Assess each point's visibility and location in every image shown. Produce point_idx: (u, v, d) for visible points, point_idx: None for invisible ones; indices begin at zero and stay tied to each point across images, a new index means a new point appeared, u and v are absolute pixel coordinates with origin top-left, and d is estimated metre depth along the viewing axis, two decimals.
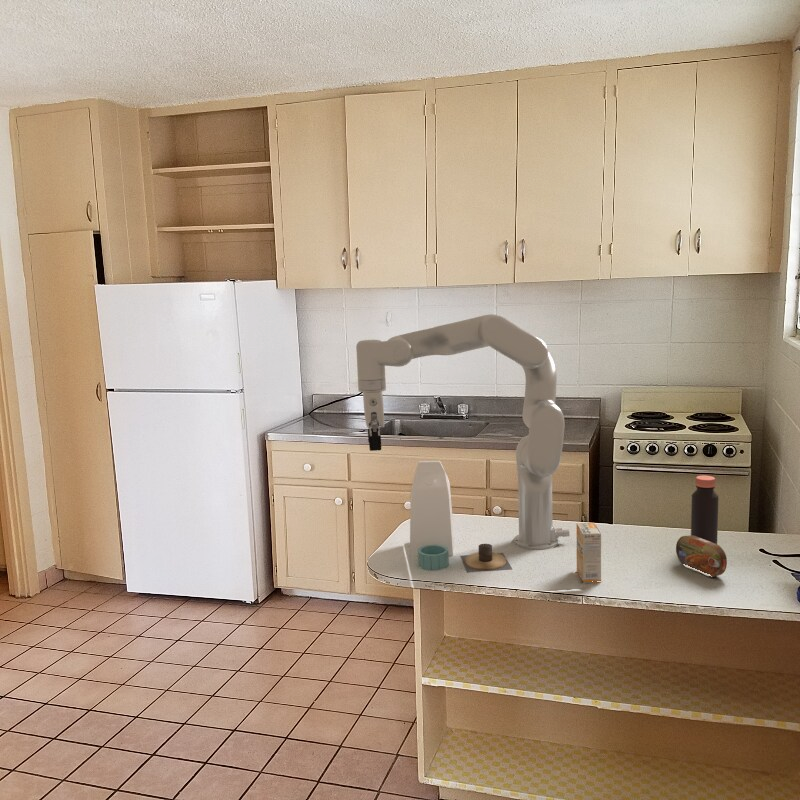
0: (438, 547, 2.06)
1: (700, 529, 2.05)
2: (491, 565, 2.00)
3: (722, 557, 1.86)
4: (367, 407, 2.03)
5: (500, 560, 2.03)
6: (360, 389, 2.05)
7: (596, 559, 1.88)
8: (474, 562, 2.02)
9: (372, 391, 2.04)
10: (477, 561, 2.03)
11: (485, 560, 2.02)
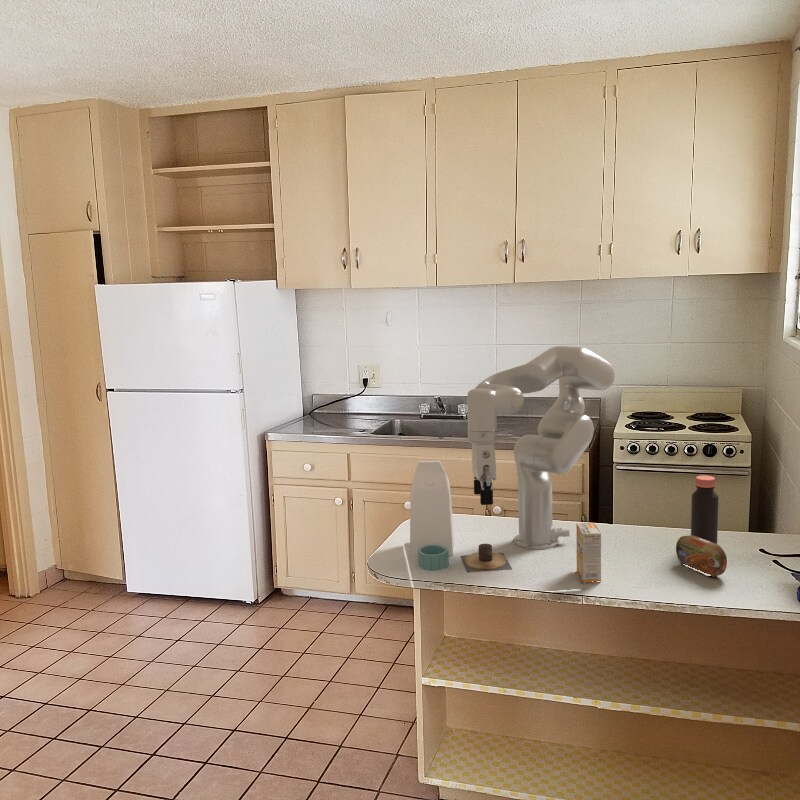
0: (438, 547, 2.06)
1: (700, 529, 2.05)
2: (491, 565, 2.00)
3: (722, 557, 1.86)
4: (479, 460, 1.94)
5: (500, 560, 2.02)
6: (471, 440, 1.96)
7: (596, 559, 1.88)
8: (474, 562, 2.02)
9: (484, 443, 1.95)
10: (477, 561, 2.03)
11: (485, 560, 2.02)
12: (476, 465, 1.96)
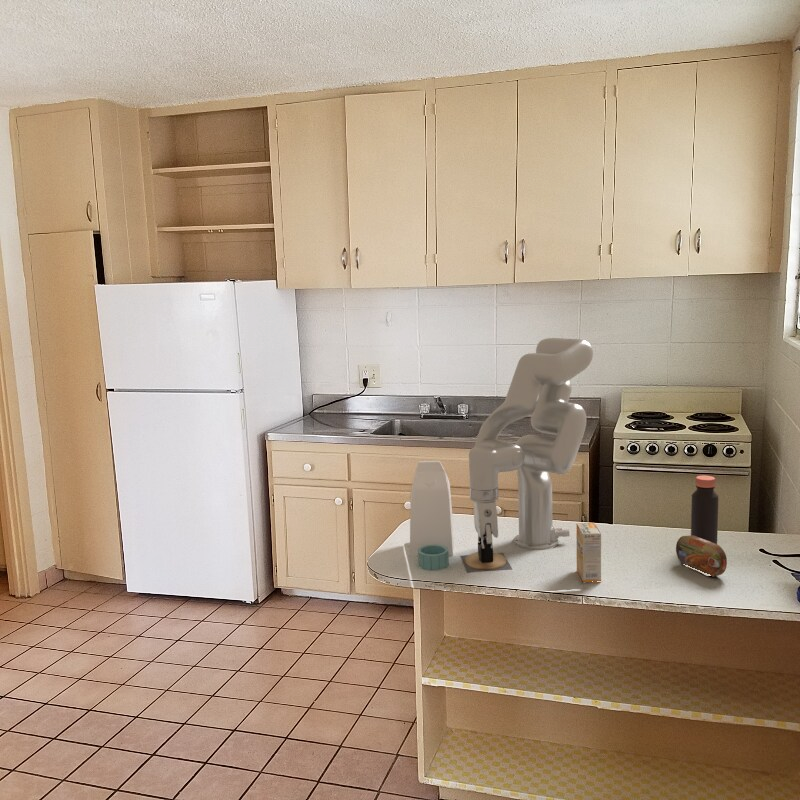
0: (438, 547, 2.06)
1: (700, 529, 2.05)
2: (491, 565, 2.00)
3: (722, 557, 1.86)
4: (481, 518, 1.97)
5: (500, 560, 2.03)
6: (473, 498, 1.99)
7: (596, 559, 1.88)
8: (474, 562, 2.02)
9: (486, 501, 1.97)
10: (477, 561, 2.03)
11: None
12: (478, 523, 1.99)
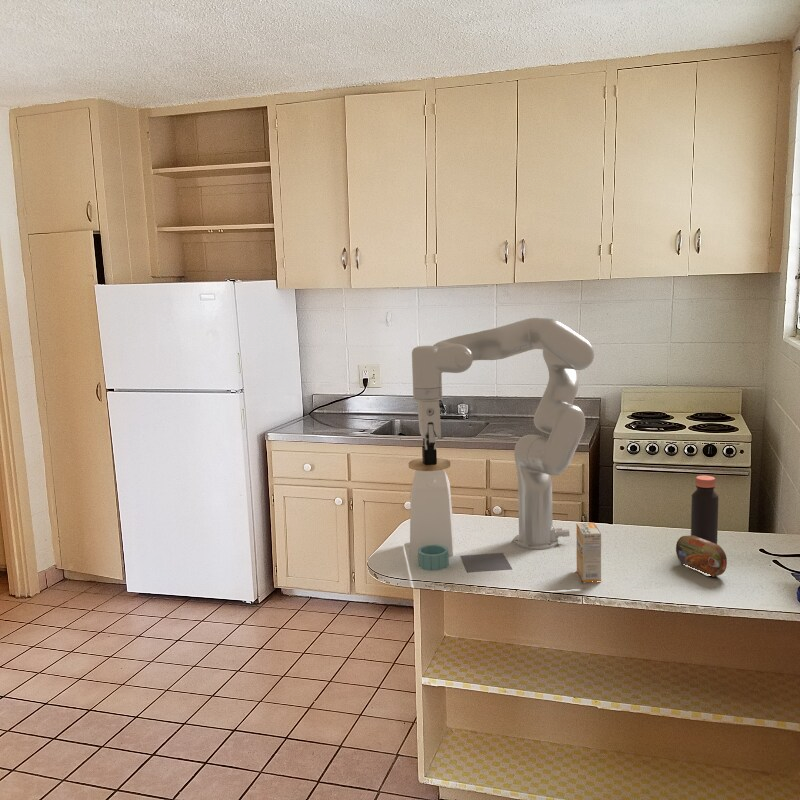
0: (438, 547, 2.06)
1: (700, 529, 2.05)
2: (434, 466, 1.95)
3: (722, 557, 1.86)
4: (423, 417, 1.93)
5: (444, 463, 1.98)
6: (416, 398, 1.95)
7: (596, 559, 1.88)
8: (417, 465, 1.97)
9: (429, 400, 1.93)
10: (420, 464, 1.98)
11: None
12: (421, 423, 1.94)
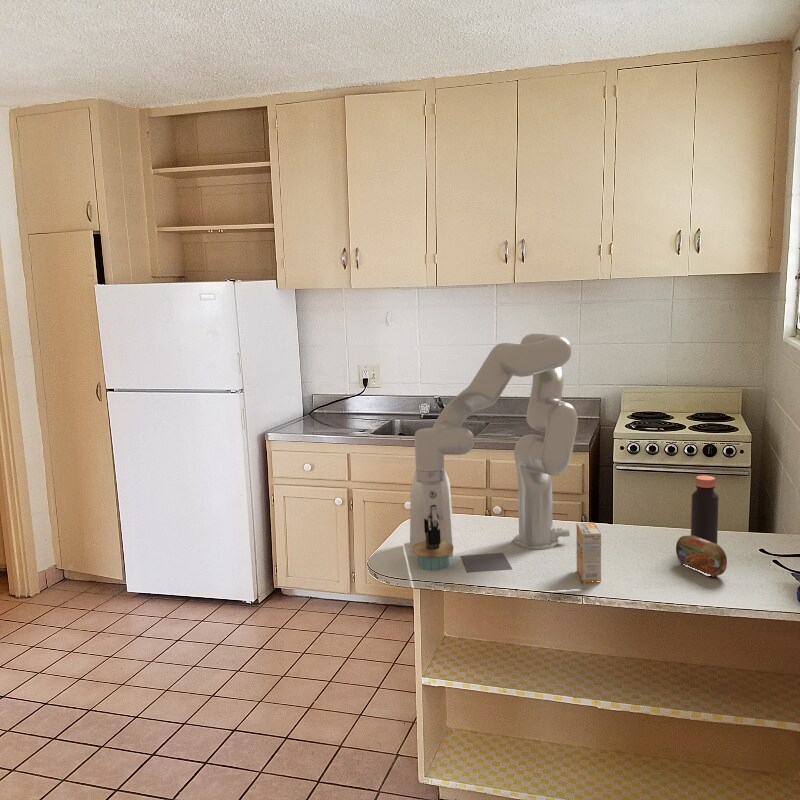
0: None
1: (700, 529, 2.05)
2: (437, 553, 1.99)
3: (722, 557, 1.86)
4: (426, 499, 1.96)
5: (447, 548, 2.02)
6: (419, 480, 1.98)
7: (596, 559, 1.88)
8: (421, 550, 2.01)
9: (431, 483, 1.96)
10: (424, 549, 2.02)
11: (432, 548, 2.01)
12: (424, 505, 1.98)
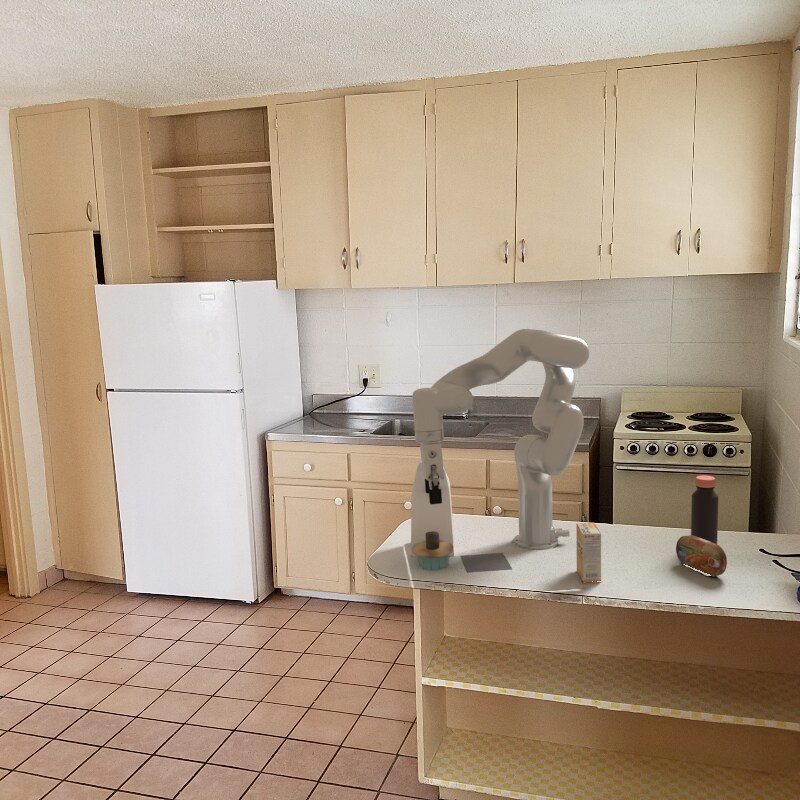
0: None
1: (700, 529, 2.05)
2: (437, 553, 1.99)
3: (722, 557, 1.86)
4: (426, 459, 1.95)
5: (447, 548, 2.02)
6: (418, 440, 1.96)
7: (596, 559, 1.88)
8: (421, 550, 2.01)
9: (431, 442, 1.95)
10: (424, 549, 2.02)
11: (432, 548, 2.01)
12: (424, 465, 1.96)
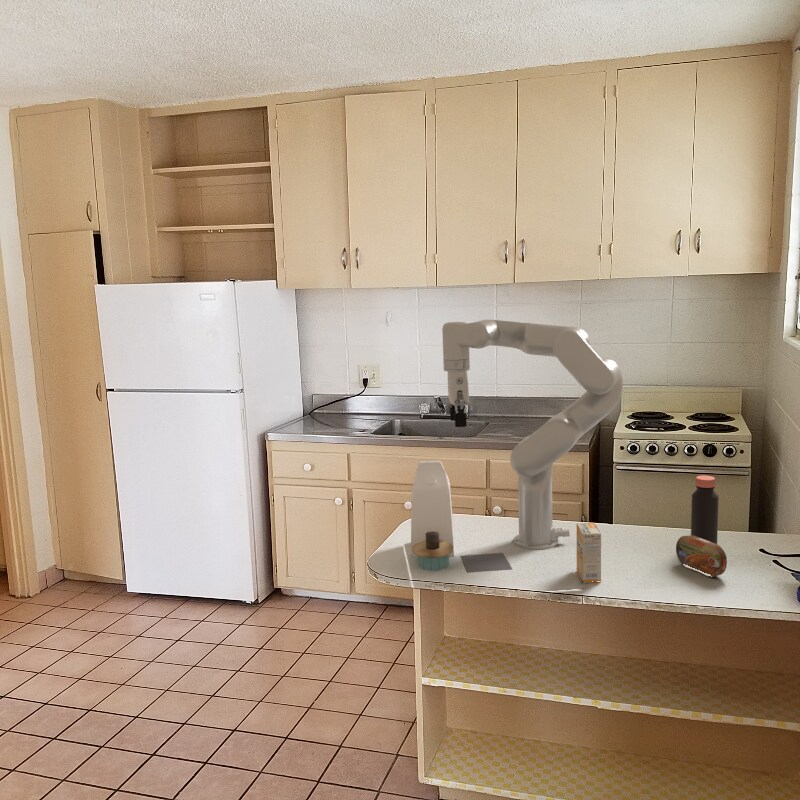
0: None
1: (700, 529, 2.05)
2: (437, 553, 1.99)
3: (722, 557, 1.86)
4: (453, 385, 2.14)
5: (447, 548, 2.02)
6: (446, 369, 2.16)
7: (596, 559, 1.88)
8: (421, 550, 2.01)
9: (458, 370, 2.15)
10: (424, 549, 2.02)
11: (432, 548, 2.01)
12: (451, 391, 2.16)
